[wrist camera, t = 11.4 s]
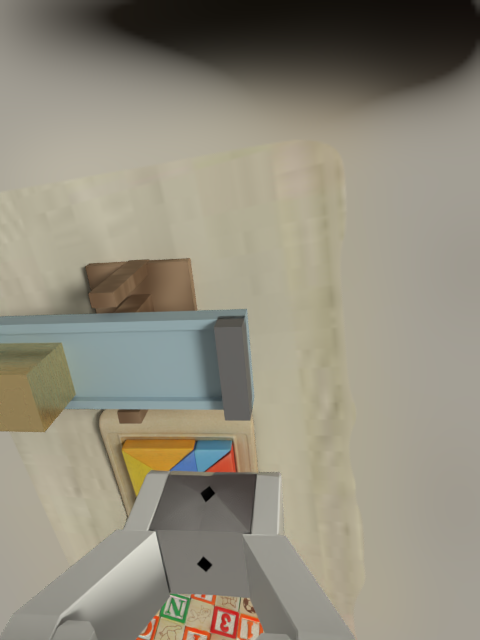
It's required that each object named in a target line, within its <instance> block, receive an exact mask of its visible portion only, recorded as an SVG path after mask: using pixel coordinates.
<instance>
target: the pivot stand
mask: <svg viewBox="0 0 480 640" xmlns="http://www.w3.org/2000/svg"><path fill="white" fill-rule="evenodd" d="M85 268H86V272H87V276H88V280H89V285H90V289H91V292H90V293H88V294H89V299H90V303H91V307H92V308H95V310H96V314H102V313H135V312H169V311H197V305H196V297H195V290H194V283H193V275H192V268H191V260H190V258H187V259H168V260H130V261H128V262H111V263H93V264H89V265H87V266H86V267H85ZM148 410H149V409H119V410H118V411H117V415H118V419H119V423H120V424H141V423H142V421H143V419H144V418H145V416H146V414H147V412H148Z"/></svg>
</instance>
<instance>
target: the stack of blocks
mask: <svg viewBox="0 0 480 640" xmlns="http://www.w3.org/2000/svg"><path fill="white" fill-rule="evenodd" d="M261 633H265V632H264V630H263V628H262V625H261V623H260V621H259V619H258V616H257V614H256V612H255V610H254V607H253V605H252V603H251V601H250V598H242V597H231V596H219V595H201V594H170V597H169V599H168V600H167V601H166V602H165V604H164V605H163V606H162V607H161V609H160V610H159V611H158V612H157V614H156V615H155V616H154V617H153V619H152V620H151V621H150V622H149V624H148V625H147V626H146V627H145V629H144V630H143V631H142V632H141V634H140V635H139V636H138V638H137V639H136V640H255V639H256V638H257V637H258V636H259V635H260V634H261Z"/></svg>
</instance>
